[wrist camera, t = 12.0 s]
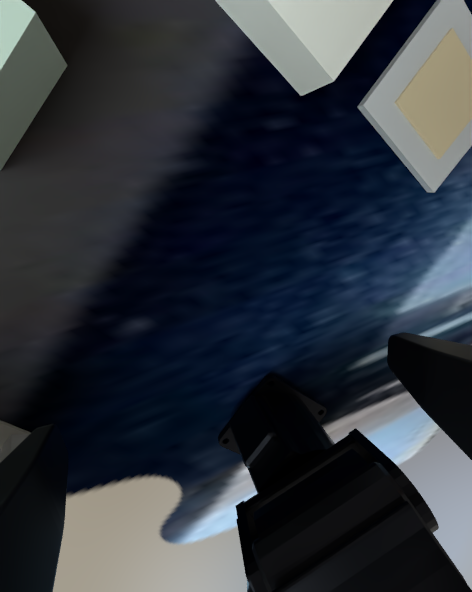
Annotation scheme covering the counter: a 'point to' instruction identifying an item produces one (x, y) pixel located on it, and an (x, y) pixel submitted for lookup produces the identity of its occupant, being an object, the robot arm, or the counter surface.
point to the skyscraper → (10, 438)
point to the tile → (428, 95)
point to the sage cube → (23, 71)
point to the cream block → (306, 34)
